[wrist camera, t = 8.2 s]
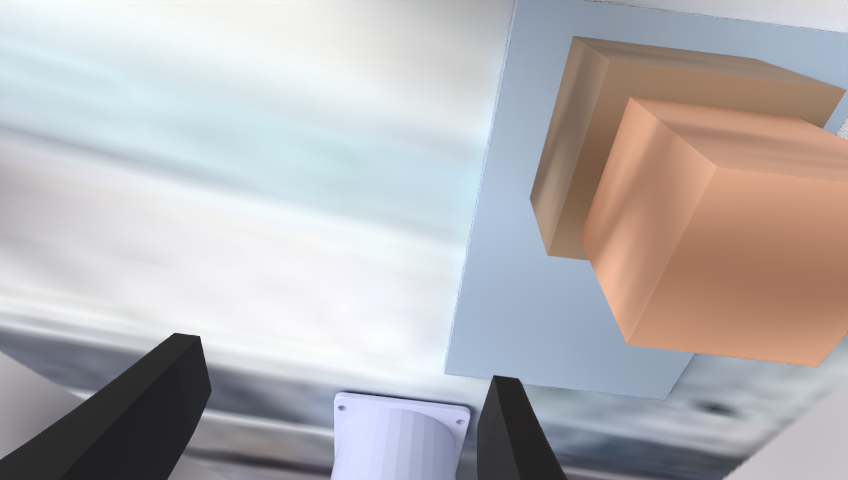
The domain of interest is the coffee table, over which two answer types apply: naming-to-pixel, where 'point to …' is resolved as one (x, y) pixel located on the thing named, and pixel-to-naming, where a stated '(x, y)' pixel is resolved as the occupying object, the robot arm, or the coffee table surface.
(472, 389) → the coffee table surface
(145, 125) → the coffee table surface
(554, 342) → the board
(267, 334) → the coffee table surface
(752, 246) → the terracotta block
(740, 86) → the base brick
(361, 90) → the coffee table surface
